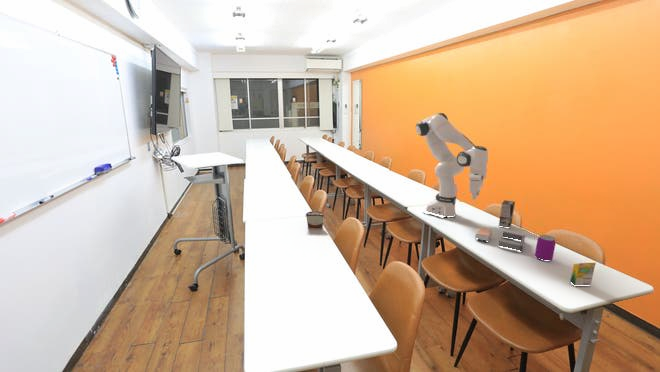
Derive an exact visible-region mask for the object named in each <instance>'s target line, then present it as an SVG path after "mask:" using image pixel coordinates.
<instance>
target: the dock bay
mask: <svg viewBox="0 0 660 372" xmlns="http://www.w3.org/2000/svg"><path fill="white" fill-rule="evenodd" d="M501 235H502V236H503V237H508V238H513V239H518V240H521V242H520V244H517V243H513V242H510V241H505V240H498V245H499V246H503V247H508V248H512V249H516V250H520V251H522V252H523V249H524V244H525V239H526V235H525V234H519V233H513V232H509V231H502V234H501Z"/></svg>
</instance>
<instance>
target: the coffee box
mask: <svg viewBox="0 0 660 372" xmlns="http://www.w3.org/2000/svg"><path fill="white" fill-rule="evenodd" d="M515 204H516V202H515V201H513V200H506V199H504V200H503V201H502V203H501V208H500V209H501V210H500V216H499V223H498V227H499V226H503V227H510V226H512V224H513V219H514V218H513V217H514V209H515ZM510 228H511V227H510Z"/></svg>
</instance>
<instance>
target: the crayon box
mask: <svg viewBox="0 0 660 372" xmlns="http://www.w3.org/2000/svg"><path fill="white" fill-rule="evenodd" d="M595 267H596V262H580V263H574V264H573V267H572V271H571V277H570V281H569V283H570V282H572V283H573V284H574V285H591V286H592V281H593V276H594V271H595Z"/></svg>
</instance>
